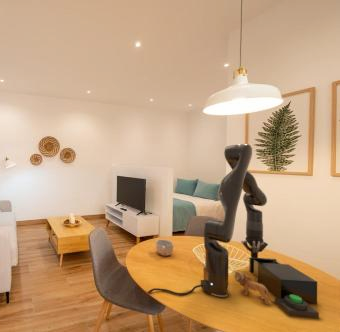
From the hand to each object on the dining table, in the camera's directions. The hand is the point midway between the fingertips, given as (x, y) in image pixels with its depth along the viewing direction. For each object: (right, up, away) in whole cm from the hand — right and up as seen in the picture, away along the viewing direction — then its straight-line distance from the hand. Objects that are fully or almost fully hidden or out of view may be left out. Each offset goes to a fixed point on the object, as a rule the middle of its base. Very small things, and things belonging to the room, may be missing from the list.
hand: (254, 258), depth 120 cm
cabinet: (-3, -6, -22) cm, 23 cm away
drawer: (-1, -5, -11) cm, 12 cm away
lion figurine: (-21, -6, -25) cm, 33 cm away
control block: (-10, -6, -34) cm, 36 cm away
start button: (-10, -2, -34) cm, 36 cm away
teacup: (-45, -6, +18) cm, 49 cm away
